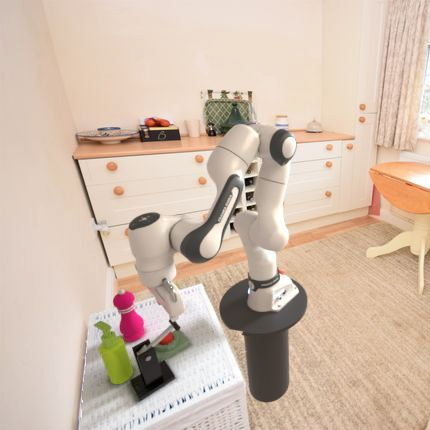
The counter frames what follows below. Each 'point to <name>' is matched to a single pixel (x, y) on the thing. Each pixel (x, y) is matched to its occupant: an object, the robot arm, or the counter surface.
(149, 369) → the bracket
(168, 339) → the button
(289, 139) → the robot arm
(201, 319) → the counter surface
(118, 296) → the pepper mill
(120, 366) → the soap dispenser
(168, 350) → the button block
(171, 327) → the tap lever
